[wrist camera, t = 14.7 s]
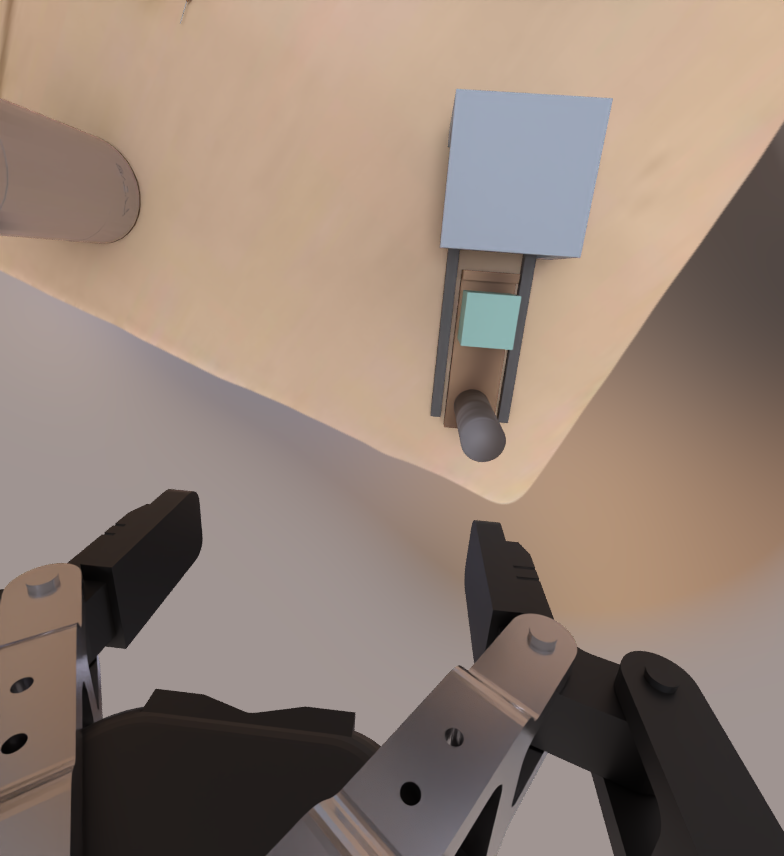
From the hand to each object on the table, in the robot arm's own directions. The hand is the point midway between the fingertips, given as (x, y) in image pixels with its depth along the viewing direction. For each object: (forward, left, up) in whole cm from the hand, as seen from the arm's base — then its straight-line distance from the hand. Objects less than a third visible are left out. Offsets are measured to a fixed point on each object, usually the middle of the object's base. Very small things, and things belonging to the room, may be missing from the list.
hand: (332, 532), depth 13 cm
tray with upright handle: (+8, 0, -34) cm, 35 cm away
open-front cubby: (+8, +14, -34) cm, 38 cm away
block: (+8, +3, -33) cm, 34 cm away
